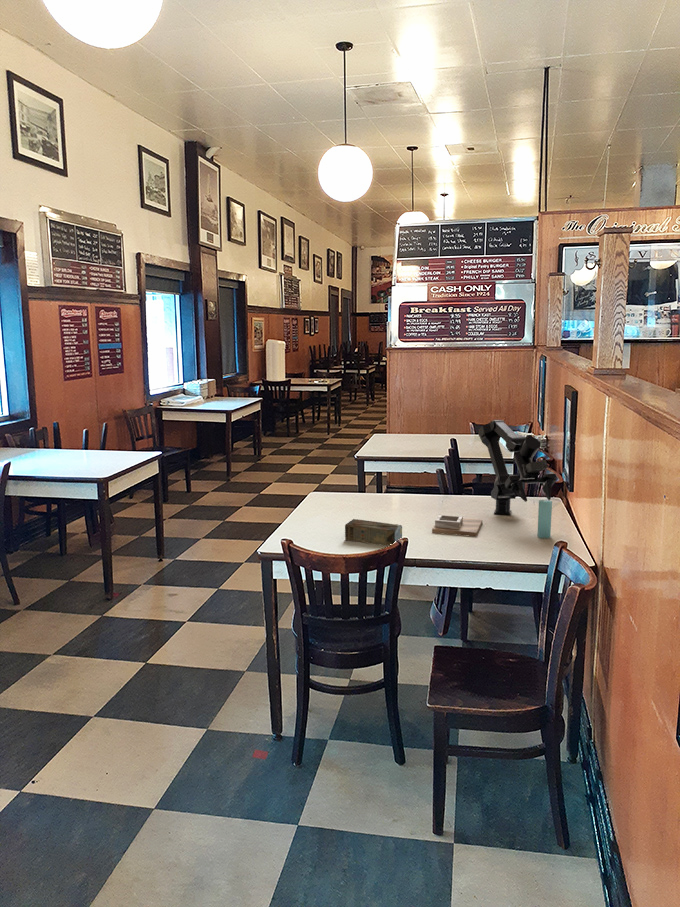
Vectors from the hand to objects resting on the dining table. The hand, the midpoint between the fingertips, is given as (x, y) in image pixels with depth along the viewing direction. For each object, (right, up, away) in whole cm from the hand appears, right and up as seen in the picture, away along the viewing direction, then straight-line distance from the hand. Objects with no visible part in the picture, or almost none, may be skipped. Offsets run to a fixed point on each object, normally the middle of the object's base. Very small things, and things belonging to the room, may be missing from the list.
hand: (538, 500), depth 253 cm
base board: (-28, -11, +8) cm, 31 cm away
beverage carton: (-60, -14, -7) cm, 62 cm away
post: (+1, -13, -3) cm, 13 cm away
